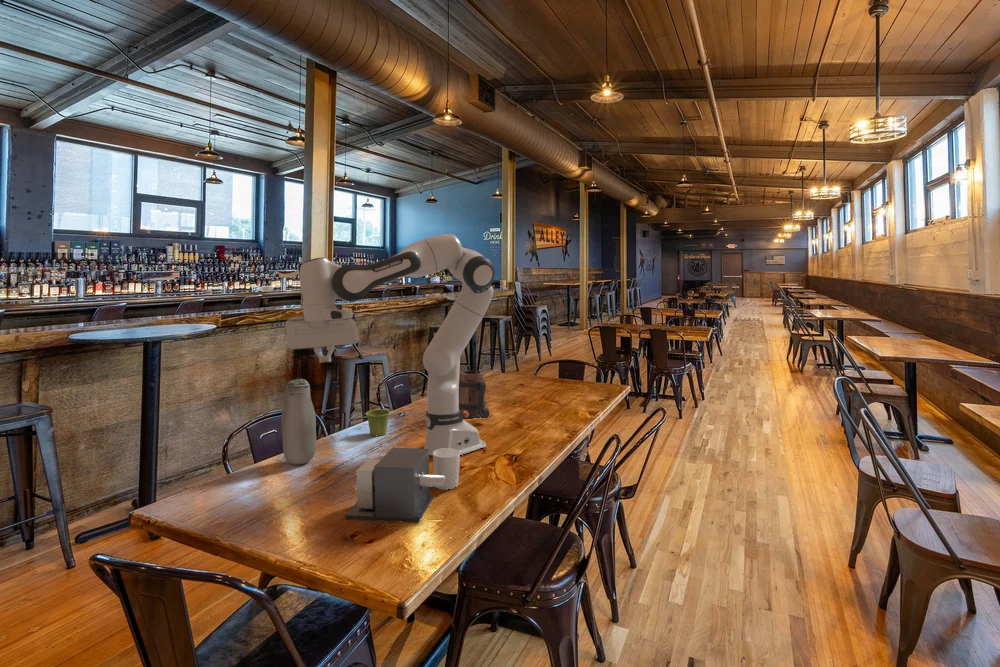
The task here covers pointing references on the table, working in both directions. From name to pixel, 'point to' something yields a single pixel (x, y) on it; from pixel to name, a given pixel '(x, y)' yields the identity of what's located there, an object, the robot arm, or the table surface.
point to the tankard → (472, 394)
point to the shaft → (368, 483)
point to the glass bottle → (298, 423)
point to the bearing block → (398, 487)
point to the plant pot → (378, 421)
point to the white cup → (447, 466)
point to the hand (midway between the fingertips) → (325, 362)
